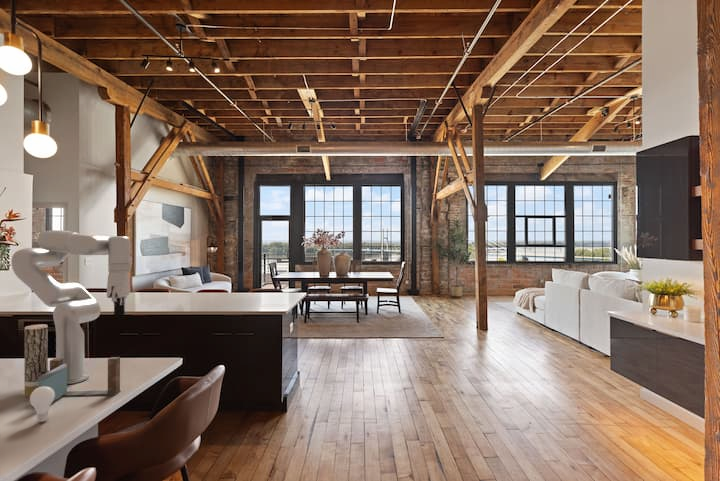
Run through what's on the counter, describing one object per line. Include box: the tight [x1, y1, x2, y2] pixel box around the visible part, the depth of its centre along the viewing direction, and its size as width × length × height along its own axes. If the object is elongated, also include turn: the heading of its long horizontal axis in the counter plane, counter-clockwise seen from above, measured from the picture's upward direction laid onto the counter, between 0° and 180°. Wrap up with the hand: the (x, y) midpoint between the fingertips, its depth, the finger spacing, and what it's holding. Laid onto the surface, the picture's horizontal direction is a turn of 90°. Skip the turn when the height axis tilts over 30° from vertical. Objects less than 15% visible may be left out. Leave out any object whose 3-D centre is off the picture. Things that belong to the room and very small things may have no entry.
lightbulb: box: [29, 386, 55, 424], centre depth 138 cm, size 6×6×11 cm
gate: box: [38, 364, 68, 402], centre depth 155 cm, size 16×2×10 cm, turn 8°
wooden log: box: [23, 323, 49, 399], centre depth 162 cm, size 7×7×25 cm
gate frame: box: [49, 356, 122, 398], centre depth 163 cm, size 23×4×13 cm, turn 96°
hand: (119, 315), depth 173 cm, fingers closed
